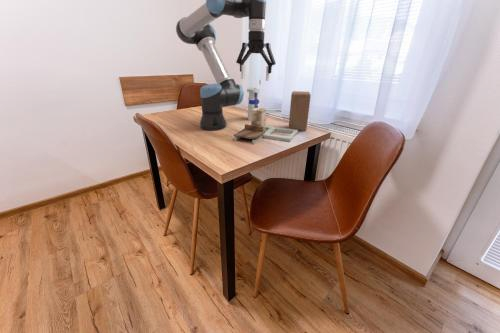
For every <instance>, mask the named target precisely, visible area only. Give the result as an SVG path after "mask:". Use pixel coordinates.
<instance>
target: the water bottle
mask: <svg viewBox="0 0 500 333" xmlns="http://www.w3.org/2000/svg"><path fill="white" fill-rule="evenodd" d="M261 82H262V81H261V80H259V85H261V84H262V83H261ZM260 90H261V89H260V88H258V87H257V88H256V87H248V88H247V89H246V92H247V93H248V98H247V99H248V104H247V120H248V121H251V110H253V109H255V108H260V97H259V94H260Z"/></svg>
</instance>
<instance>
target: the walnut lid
mask: <svg viewBox="0 0 500 333" xmlns="http://www.w3.org/2000/svg"><path fill="white" fill-rule="evenodd" d="M264 133H265V131H263V126H255V125H251V124H248V123H246V124H244V128H243V129H241V130H239V131H238V132H236V133H234V134H233V137H241V138H243V139H249V140H254V139H255V140H257V139H258V138H259V137H260V136H262V135H263V134H264Z"/></svg>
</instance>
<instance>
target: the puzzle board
mask: <svg viewBox="0 0 500 333" xmlns="http://www.w3.org/2000/svg"><path fill="white" fill-rule="evenodd" d="M298 131H299V130H294V129H289V128H286V127H276V126H269V125H265V133H264V134H263V135H262V136H260V137H259V138H258V139H257V140H255V139H251V140H252V141H251V143H252V144H254V145H255V144H256V143H258V142H259V141H260V140H261V139H268V140H277V141H283V142H289V143H290V142H291V141H292V140H293V139H294V138H293V137H295V136H296V135H297V134H298ZM275 132H278V133H279V132H280V133H286V134H287V133H288V134H289V136H284V135H278V134H274V133H275ZM241 138H242V137H235V136H233V141H235V142H236V141H238V140H240V139H241Z"/></svg>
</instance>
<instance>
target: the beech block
mask: <svg viewBox="0 0 500 333" xmlns="http://www.w3.org/2000/svg"><path fill="white" fill-rule="evenodd" d="M266 120H267V109H266V108H260V107H259V108H255V109H253V110H251V120H250V122H251V124H250V125H255V126H263V131H265V126H267V125H266Z"/></svg>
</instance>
